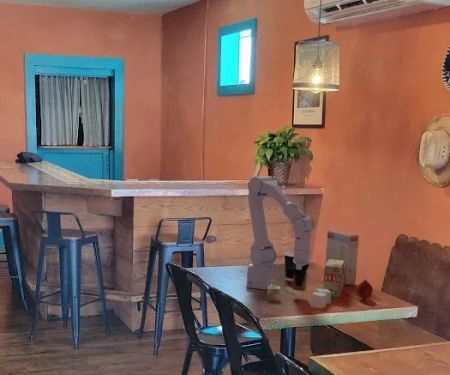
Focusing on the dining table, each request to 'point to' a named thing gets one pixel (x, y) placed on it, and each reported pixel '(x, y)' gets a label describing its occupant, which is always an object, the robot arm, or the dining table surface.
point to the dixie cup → (289, 265)
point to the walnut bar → (303, 287)
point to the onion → (364, 290)
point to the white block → (318, 299)
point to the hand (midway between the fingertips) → (299, 284)
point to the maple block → (273, 293)
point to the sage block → (326, 293)
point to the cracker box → (343, 252)
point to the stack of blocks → (334, 277)
